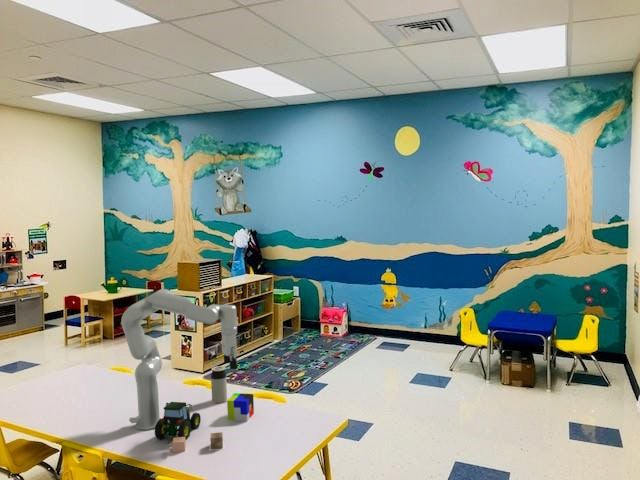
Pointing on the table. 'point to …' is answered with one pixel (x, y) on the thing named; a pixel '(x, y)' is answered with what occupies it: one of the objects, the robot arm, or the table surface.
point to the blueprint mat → (216, 449)
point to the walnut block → (216, 440)
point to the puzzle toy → (240, 407)
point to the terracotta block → (179, 444)
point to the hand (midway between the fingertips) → (230, 365)
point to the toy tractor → (177, 421)
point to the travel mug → (219, 384)
